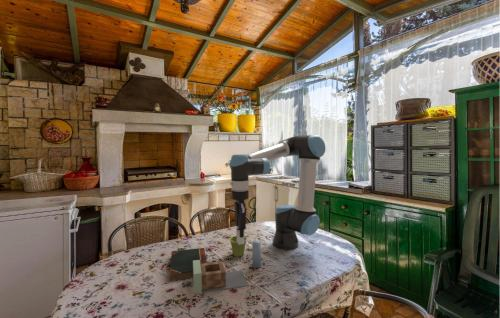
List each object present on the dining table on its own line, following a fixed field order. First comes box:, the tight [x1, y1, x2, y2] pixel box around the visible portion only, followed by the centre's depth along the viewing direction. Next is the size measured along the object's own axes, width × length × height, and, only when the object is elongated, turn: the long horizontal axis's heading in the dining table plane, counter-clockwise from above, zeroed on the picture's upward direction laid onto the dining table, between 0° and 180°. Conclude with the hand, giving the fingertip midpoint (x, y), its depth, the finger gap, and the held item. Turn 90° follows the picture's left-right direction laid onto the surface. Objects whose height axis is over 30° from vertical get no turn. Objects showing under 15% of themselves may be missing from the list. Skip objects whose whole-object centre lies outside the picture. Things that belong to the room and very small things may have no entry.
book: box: [169, 247, 208, 281], centre depth 123 cm, size 17×4×25 cm
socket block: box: [200, 260, 226, 289], centre depth 108 cm, size 10×10×6 cm
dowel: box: [251, 240, 262, 269], centre depth 122 cm, size 4×4×12 cm
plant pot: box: [228, 235, 248, 258], centre depth 135 cm, size 9×9×9 cm
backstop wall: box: [192, 260, 202, 294], centre depth 106 cm, size 3×12×8 cm, turn 15°
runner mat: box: [201, 270, 249, 294], centre depth 109 cm, size 20×13×1 cm, turn 105°
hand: (240, 242), depth 110 cm, fingers open, 2 cm apart
